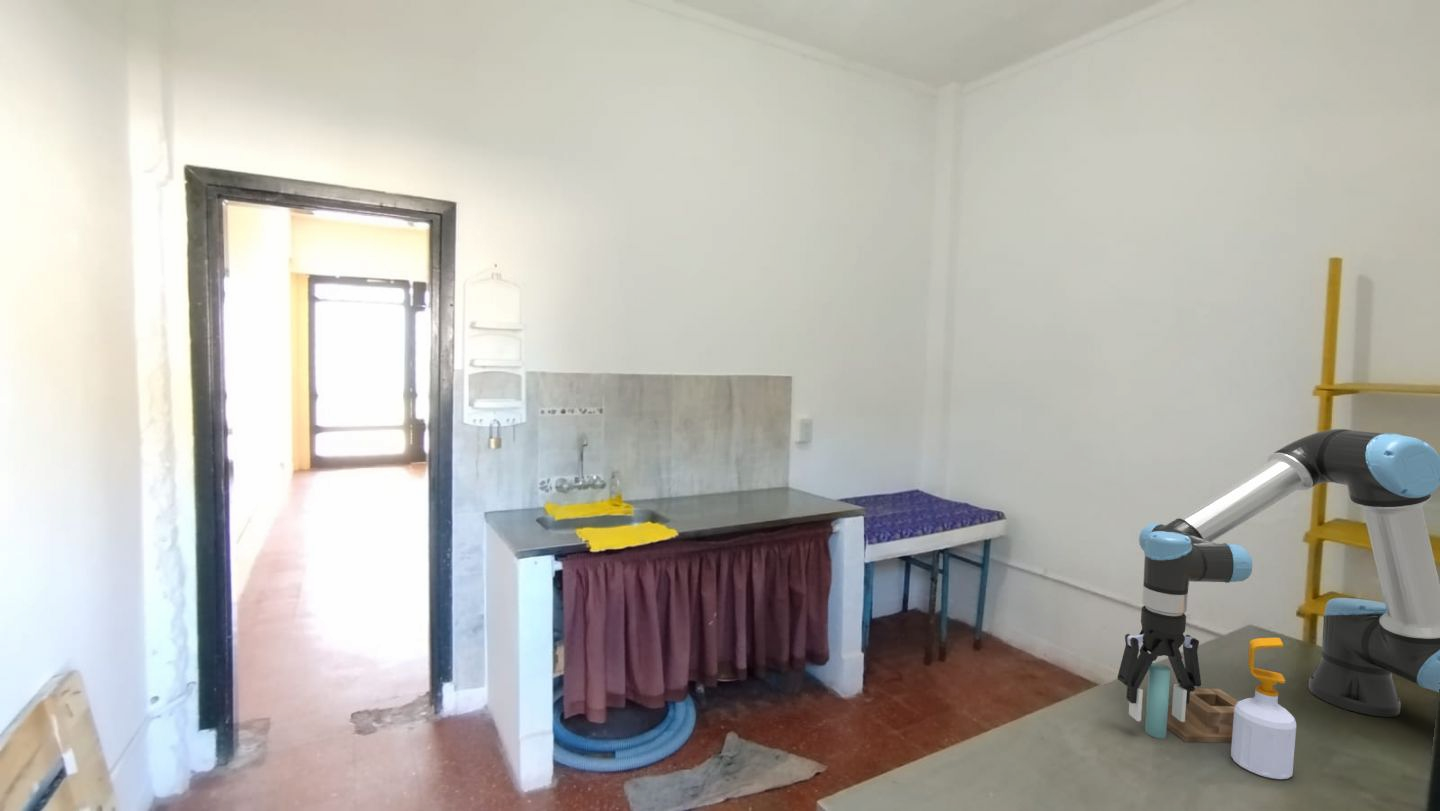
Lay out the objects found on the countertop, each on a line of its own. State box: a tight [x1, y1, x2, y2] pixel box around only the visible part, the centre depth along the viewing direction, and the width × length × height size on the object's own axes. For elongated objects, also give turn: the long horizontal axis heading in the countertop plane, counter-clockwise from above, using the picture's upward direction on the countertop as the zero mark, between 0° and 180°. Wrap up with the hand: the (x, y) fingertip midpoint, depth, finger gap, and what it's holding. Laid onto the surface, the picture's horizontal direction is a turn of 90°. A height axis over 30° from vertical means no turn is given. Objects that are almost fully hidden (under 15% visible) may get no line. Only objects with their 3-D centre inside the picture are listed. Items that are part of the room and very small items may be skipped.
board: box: [1145, 687, 1240, 744], centre depth 138 cm, size 20×12×6 cm, turn 91°
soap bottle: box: [1230, 637, 1297, 780], centre depth 124 cm, size 9×9×25 cm
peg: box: [1144, 662, 1171, 740], centre depth 135 cm, size 4×4×14 cm
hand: (1156, 717), depth 135 cm, fingers open, 8 cm apart
